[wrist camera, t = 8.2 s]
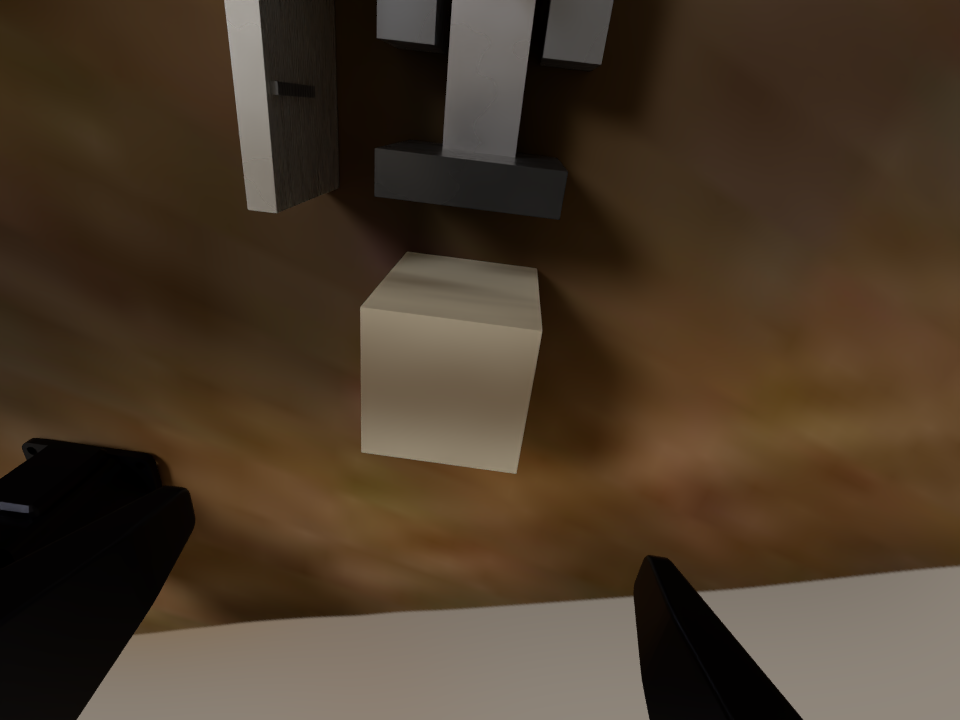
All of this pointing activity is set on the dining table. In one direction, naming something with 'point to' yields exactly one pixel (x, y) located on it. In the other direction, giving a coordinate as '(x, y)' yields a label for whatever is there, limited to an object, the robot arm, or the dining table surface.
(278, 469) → the dining table surface
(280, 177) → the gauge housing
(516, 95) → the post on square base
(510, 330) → the block
